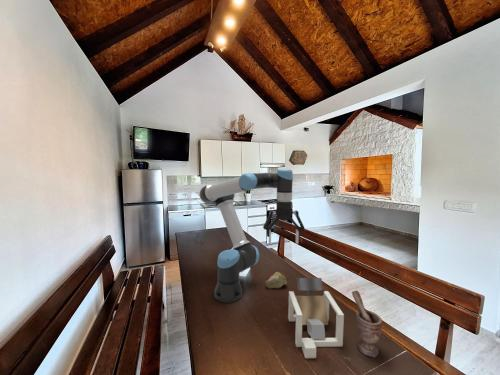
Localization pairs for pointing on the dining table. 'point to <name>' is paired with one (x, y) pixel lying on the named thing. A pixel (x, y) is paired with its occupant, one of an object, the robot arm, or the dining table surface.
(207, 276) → the dining table surface
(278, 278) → the rock
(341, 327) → the frame
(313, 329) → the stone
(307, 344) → the pumice block
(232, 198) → the robot arm
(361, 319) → the mortar and pestle
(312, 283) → the trapdoor
